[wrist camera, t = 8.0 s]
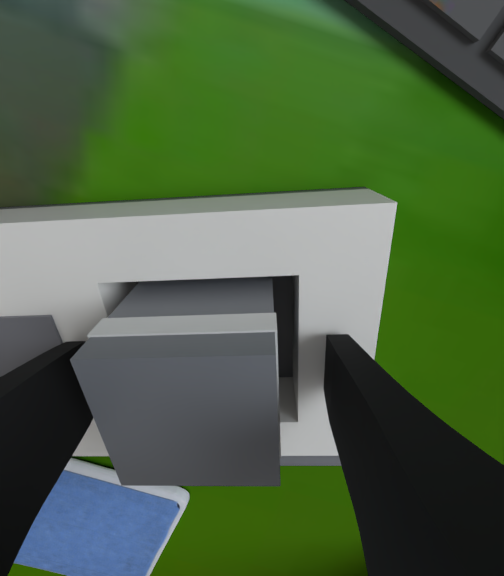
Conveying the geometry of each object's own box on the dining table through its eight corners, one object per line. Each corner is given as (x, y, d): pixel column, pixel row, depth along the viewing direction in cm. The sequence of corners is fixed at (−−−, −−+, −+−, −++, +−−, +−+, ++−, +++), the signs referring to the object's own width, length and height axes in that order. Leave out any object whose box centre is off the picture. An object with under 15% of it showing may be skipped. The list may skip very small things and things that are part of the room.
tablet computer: (-138, 505, 20) (-163, 529, 19) (-184, 370, 15) (-223, 390, 13) (147, 571, 22) (141, 595, 21) (196, 476, 17) (191, 501, 16)
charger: (276, 356, 12) (282, 487, 7) (173, 358, 12) (120, 486, 8) (272, 258, 10) (278, 352, 6) (152, 263, 10) (66, 357, 6)
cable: (347, 453, 15) (352, 472, 14) (144, 454, 15) (137, 471, 15) (349, 437, 14) (354, 454, 14) (138, 438, 15) (131, 455, 14)
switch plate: (343, 400, 13) (360, 458, 11) (40, 404, 14) (-7, 458, 12) (364, 186, 9) (398, 203, 7) (-58, 210, 10) (-158, 232, 8)
